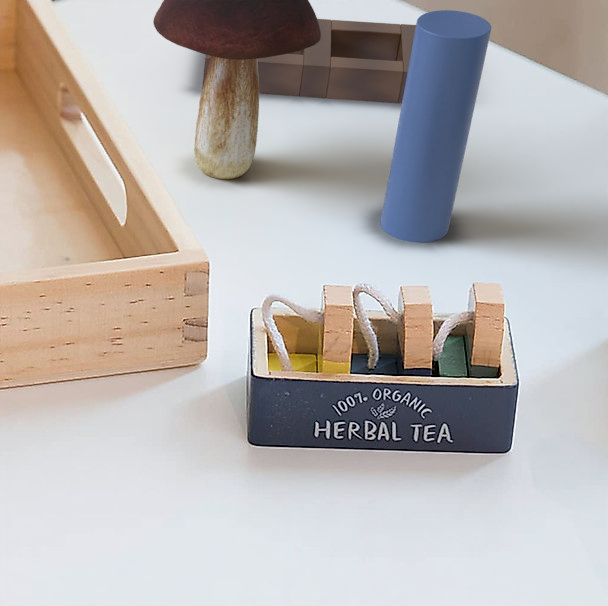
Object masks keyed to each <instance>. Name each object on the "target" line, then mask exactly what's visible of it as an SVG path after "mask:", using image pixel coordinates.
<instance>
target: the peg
mask: <svg viewBox="0 0 608 606" xmlns="http://www.w3.org/2000/svg"><path fill="white" fill-rule="evenodd" d="M415 25H416V28H415V34H414V40H413V45H412V51H411V56H410V62H409V67H408V73H407V78H406V84H405V89H404V95H403V101H402V104H401V106H400V112H399V117H398V124H397V129H396V134H395V140H394V145H393V152H392V157H391V162H390V167H389V172H388V173H389V174H388V179H387V184H386V191H385V194H384V195H385V196H384V201H383V207H382V212H381V218H380V227H381V229H382V230H383V232H385V233H386V234H388V235H389V236H390V237H392V238H394V239H397V240H400V241H404V242H405V241H406V242H410V243H431V242H435V241H439V240H441V239H443V238H445V237H446V236H447V234H448V232H449V228H450V224H451V219H452V215H453V210H454V205H455V201H456V197H457V196H456V195H457V191H458V187H459V181H460V178H461V173H462V168H463V163H464V159H465V153H466V149H467V146H468V145H467V144H468V140H469V134H470V130H471V125H472V121H473V116H474V111H475V107H476V103H477V97H478V94H479V88H480V84H481V79H482V74H483V69H484V65H485V60H486V55H487V51H488V46H489V43H490V36H491V31H492V25H491V23H490V22H489V21H488V20H487V19H486V18H485V17H484V18H483V17H482V16H479V15H477V14H474V13H472V12H471V13H470V12H467V11H460V10H449V9H443V10H442V9H441V10H434V11H428V12H426V13H423V14H421V15H420V16H419V17H418V18H417V20H416V23H415Z"/></svg>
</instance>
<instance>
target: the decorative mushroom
mask: <svg viewBox="0 0 608 606" xmlns="http://www.w3.org/2000/svg"><path fill="white" fill-rule="evenodd" d="M317 19H318V16H317V14H316V12H315V10H314V8H313V6H312V4H311V3H310V1H309V0H162V2H161V4H160V7H159V8H158V9H157V11H156V12H155V15H154V17H153V26H154V28H155V30H156V31H157V33H158V34H159V35H160V36H161V37H162V38H164V39H165V40H167V41H169V42H171V43H173V44H175V45H177V46H179V47H182V48H184V49H188V50H191V51H194V52H197V53H200V54H202V55H209V56H211V57H210V62H209V66H208V70H207V74H206V78H205V82H204V86H203V90H202V89H201V94H200V97H199V105H198V113H197V117H196V124H195V125H196V126H195V136H194V149H193V150H194V159H195V162H196V165H197V167H198V169H200V170H201V171H202V173H203V174H205V175H206V176H208V177H210V178H213V179H218V180H233V179H236V178H240V177H242V176H243V175H244V174H245V173H247V172H248V170H249V169H250V168H251V166H252V163H253V161H254V158H255V154H256V150H257V149H256V148H257V141H258V140H257V139H258V129H259V115H260V113H259V111H260V94H259V74H258V58H266V57H272V56H277V55H283V54H289V53H293V52H296V51H300V50H303V49H306V48H309V47H312V46H314V45H316V44H317V43H318V42H319V41H320V38H321V31H320V27H319V23H318V20H317Z"/></svg>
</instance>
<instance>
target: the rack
mask: <svg viewBox="0 0 608 606" xmlns="http://www.w3.org/2000/svg"><path fill="white" fill-rule="evenodd" d="M317 20H318V23H319V27H320V31H321V38H320V41H319V42H318V43H317V44H316V45H314V46H312V47H309V48H306V49H303V50H300V51H296V52H293V53H289V54H283V55H277V56H272V57H266V58H258V74H259V95H271V96H272V95H273V96H286V97H299V98H300V97H302V98H314V99H315V98H316V99H330V100H345V101H360V102H372V103H373V102H374V103H387V104H401V105H402V101H403V95H404V89H405V84H406V78H407V73H408V67H409V62H410V56H411V51H412V45H413V40H414V34H415V28H416V24H409V23H408V24H407V23H401V24H400V23H389V22H388V23H387V22H374V21H373V22H372V21H357V20H340V19H339V20H338V19H326V18H317ZM204 55H205V54H204ZM210 57H211V56H209V55H205V56H204V62H203V73H202V87H201V91H202V90H203V86H204V82H205V78H206V74H207V70H208V66H209V62H210Z"/></svg>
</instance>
